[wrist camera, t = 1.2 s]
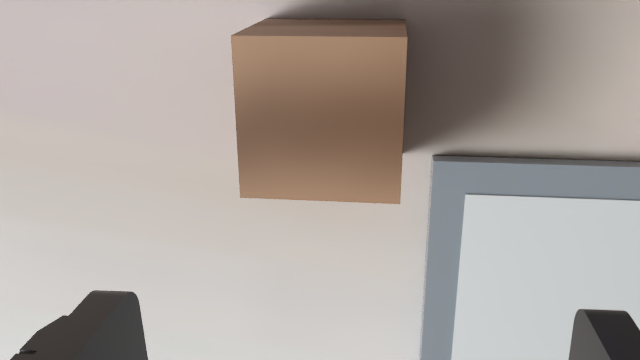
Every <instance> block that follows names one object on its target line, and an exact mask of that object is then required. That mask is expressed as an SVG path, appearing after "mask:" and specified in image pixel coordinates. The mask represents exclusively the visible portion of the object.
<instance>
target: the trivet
mask: <svg viewBox="0 0 640 360" xmlns="http://www.w3.org/2000/svg"><path fill="white" fill-rule="evenodd" d="M579 309H597V310H624V311H626V312H628V313H629V315H630V316H631V318H632V319H633V321H634V322H635V324H636V325H637V327H638V328H639V330H640V162H633V161H600V160H567V159H533V158H500V157H466V156H433V155H432V170H431V186H430V202H429V217H428V233H427V249H426V265H425V281H424V297H423V313H422V329H421V345H420V360H569V352H570V345H571V338H572V330H573V323H574V318H575V314H576V312H577V311H578V310H579Z"/></svg>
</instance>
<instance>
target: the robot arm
mask: <svg viewBox="0 0 640 360" xmlns="http://www.w3.org/2000/svg"><path fill="white" fill-rule="evenodd" d="M10 360H148V357H147V351H146V344H145V338H144V331H143V325H142V318H141V312H140V305H139V301H138V298H137V296H136V294H135V293H133V292H125V291H97V290H95V291H92V292H90V293H89V294H88V295H87V296H86V298H85V299H84V300H83V301H82V302H81V303H80V304H79V305H78V306H77V307H76V309H75V310H74V311H73V312H72V313H71V314H70V315H69V316H62V317H60V318H58V319H57V320H55V321H54V322H52V323H50V324H49V325H47V326H45V327H44V328H42V329H40V330H39V331H37V332H36V333H35V334H34V335H33V336H32V338H31V339H30V340H29V341H28V342H27V343H26V344H25V345H24V346H23V347H22V348H21V349H20V353H19V354H15V355H14V356H13V357H12V358H11V359H10ZM569 360H640V330H639V328H638V327H637V325H636V324H635V322H634V321H633V319H632V318H631V316H630V315H629V313H628V312H626V311H624V310H597V309H579V310H578V311H577V312H576V314H575V318H574V323H573V330H572V338H571V345H570V352H569Z"/></svg>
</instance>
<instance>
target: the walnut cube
mask: <svg viewBox="0 0 640 360" xmlns="http://www.w3.org/2000/svg"><path fill="white" fill-rule="evenodd" d="M407 40H408V37H407V30H406V23H405V20H391V19H264V20H262V21H260V22H258V23H256V24H254V25H252V26H250V27H248V28H246V29H244V30H242V31H240V32H238V33H235V34H233V35H231V43H232V60H233V78H234V96H235V114H236V131H237V149H238V167H239V184H240V198H264V199H289V200H314V201H338V202H363V203H388V204H400V195H401V173H402V150H403V128H404V106H405V84H406V62H407Z"/></svg>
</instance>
